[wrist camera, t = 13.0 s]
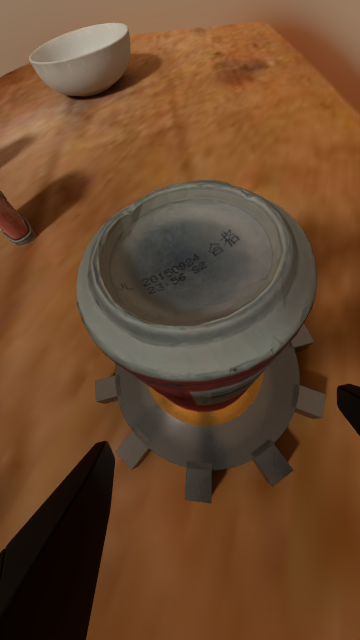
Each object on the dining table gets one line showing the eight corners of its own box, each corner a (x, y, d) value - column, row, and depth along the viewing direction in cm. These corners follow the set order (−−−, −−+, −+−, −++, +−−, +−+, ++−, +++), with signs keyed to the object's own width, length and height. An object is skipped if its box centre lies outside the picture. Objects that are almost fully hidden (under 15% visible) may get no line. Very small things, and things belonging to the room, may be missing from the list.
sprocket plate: (328, 311, 19) (339, 301, 18) (293, 551, 13) (304, 567, 11) (154, 267, 24) (150, 256, 22) (65, 427, 17) (51, 426, 16)
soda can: (271, 369, 16) (405, 238, 5) (196, 437, 14) (148, 464, 4) (207, 306, 19) (200, 138, 8) (140, 358, 17) (21, 241, 7)
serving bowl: (99, 65, 57) (86, 21, 50) (157, 74, 49) (149, 23, 43) (33, 100, 51) (9, 56, 45) (86, 118, 43) (65, 66, 37)
